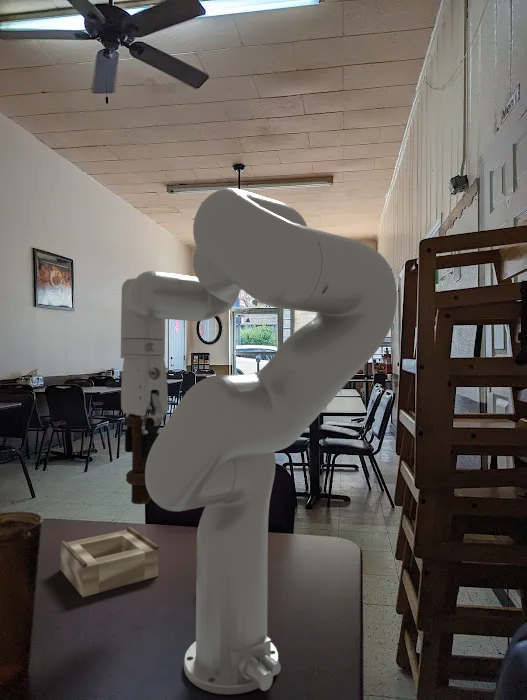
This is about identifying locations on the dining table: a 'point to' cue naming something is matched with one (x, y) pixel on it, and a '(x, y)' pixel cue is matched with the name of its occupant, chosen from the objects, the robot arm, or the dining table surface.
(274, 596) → the dining table surface
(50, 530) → the dining table surface
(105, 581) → the socket
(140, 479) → the bolt
